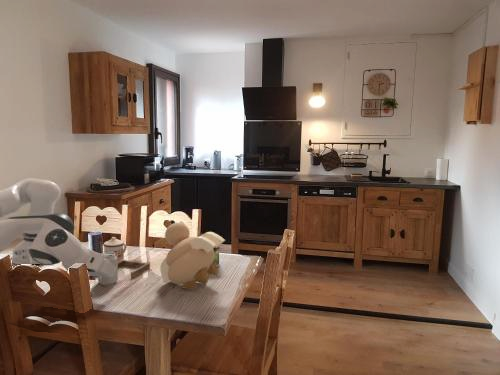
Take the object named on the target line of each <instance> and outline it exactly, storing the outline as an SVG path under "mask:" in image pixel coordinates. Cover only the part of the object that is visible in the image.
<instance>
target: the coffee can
mask: <svg viewBox="0 0 500 375" xmlns="http://www.w3.org/2000/svg"><path fill="white" fill-rule="evenodd" d="M205 233H206V232H205ZM205 233H200V234H197V237H199V236H201V235H203V234H205ZM216 234H217V235H219V236H220V234H218V233H216ZM213 250H214V253H215V257H214V261H213V263H214V262H216V261H217V267H219V265H220V246H219V247H217V248H216V247H214V248H213ZM213 263H212V264H213Z"/></svg>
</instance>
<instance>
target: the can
mask: <svg viewBox="0 0 500 375" xmlns="http://www.w3.org/2000/svg"><path fill="white" fill-rule="evenodd" d="M101 254H103V255H104V256H105V259H107V260H108V261H109V262H110V263H111V264H112V265H113V266H114V267H115V268H116V271H115V273H114V275H113V277H112V278H108V277H102V278H101V279H100V278H97V280H98V283H99V284H101V285H103V286H111V285H114V284H116V283H117V281H118V280H119V269H118V264H117V256H116V254H115V253H113V252H106V253H104V252H102V253H101Z"/></svg>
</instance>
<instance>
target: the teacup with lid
mask: <svg viewBox="0 0 500 375" xmlns="http://www.w3.org/2000/svg"><path fill="white" fill-rule="evenodd" d="M103 246H104V247H103V250H104V252H103V253H106V252H113V253H115V254H116V256H117V263H118V262H120V261H122V260H125V259H124V257H125V256H124V254H125V253H126V251H127V244H126V243H125V242H124V241H123V240H120V239H117V238H116V237H115V236H112V237H111V239H108V240H107V241H105V242H103Z"/></svg>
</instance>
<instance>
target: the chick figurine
mask: <svg viewBox="0 0 500 375" xmlns="http://www.w3.org/2000/svg"><path fill="white" fill-rule="evenodd" d="M202 234H203V233H202ZM217 234H218V233H215V232H213V231H207V232H205V234H203V235H201V236H199V237H198V236H190V229H189V227H188V226H187V225H186V224H185V222H184V221H182V220H181V221H179V222H174V223H171V224H170V225H169V226H168V227H167V229H166V230H165V233H164V239H165V241H166V242H167V244H168V245H170V246H172V247H171V248H170V250H168V253H167V255H166V257H165V258H164V259H163V260H162V262H161V263H160V265H159V266H160V268H159V269H160V274H161V279H162V281H163V284H166V283H167V282H169V281H170V282H171V283H173V284H175V285H182V286H181V288H183V289H186V290H189V291H192V292H196V293H197V283H200V284H202V285H203V284H204V285H207V283H208V274H209V275H212V276H215V277H217V276H218V266H217V261H216V262H214V263H213V261H214V257H215V253H214V250H213V248H214V247H216V248H217V247H219V248H220V246H222V244H223V243H224V242H225V241H226V239H224V238H223V237H222V236H219V235H220V234H218V235H217ZM212 263H213V264H212Z"/></svg>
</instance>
